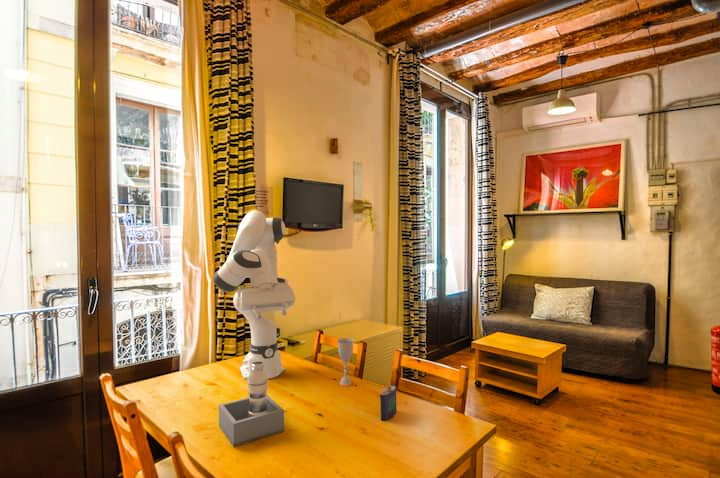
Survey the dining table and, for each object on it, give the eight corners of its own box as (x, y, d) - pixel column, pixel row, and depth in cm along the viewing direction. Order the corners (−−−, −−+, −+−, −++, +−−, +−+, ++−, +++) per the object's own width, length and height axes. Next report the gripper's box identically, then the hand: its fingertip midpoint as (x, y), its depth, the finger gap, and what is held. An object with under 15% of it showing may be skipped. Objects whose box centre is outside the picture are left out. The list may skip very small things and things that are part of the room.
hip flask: (391, 409, 143) (391, 380, 143) (399, 411, 141) (398, 381, 141) (378, 420, 135) (378, 388, 135) (386, 422, 133) (386, 390, 133)
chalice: (346, 378, 173) (346, 337, 173) (357, 382, 169) (357, 340, 168) (333, 383, 168) (333, 340, 168) (344, 387, 163) (344, 343, 163)
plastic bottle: (263, 429, 127) (263, 367, 127) (243, 427, 129) (243, 365, 128) (271, 420, 134) (271, 360, 133) (253, 418, 135) (252, 359, 134)
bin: (218, 425, 132) (218, 404, 132) (265, 413, 141) (265, 393, 141) (233, 447, 119) (233, 423, 119) (284, 431, 128) (283, 409, 128)
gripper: (237, 282, 146) (244, 314, 138) (291, 278, 156) (300, 308, 148) (234, 293, 150) (241, 324, 141) (287, 288, 160) (296, 317, 152)
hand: (272, 316), depth 145 cm, fingers open, 8 cm apart
